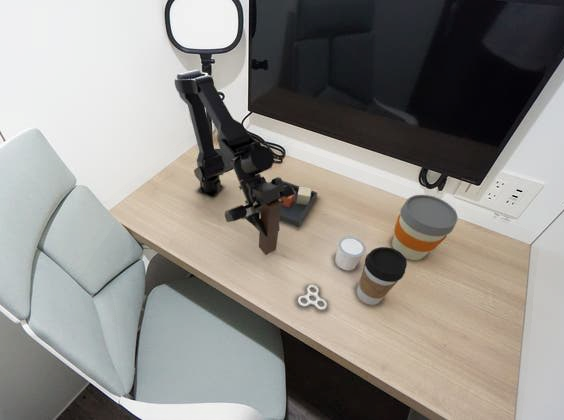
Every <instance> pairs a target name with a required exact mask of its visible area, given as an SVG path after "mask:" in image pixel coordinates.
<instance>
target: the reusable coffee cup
mask: <svg viewBox="0 0 564 420" xmlns="http://www.w3.org/2000/svg"><path fill="white" fill-rule="evenodd" d="M399 213H400V214H399V215H398V216H397V220H396V222H395V226H394V230H393V231H394V235H393V237H392V242H391V246H392V248H393V249H395V250H397V251H399V252H400V253H401V254H403V256H404V257H405V258H406V260H411V261H419V260H420V261H421V260H422V259H424V258H425V257H426V256H427V255H428V254H429V253H430V252H432V251H433V250H435V249H436V248H437V247H438V246H439V245H440V244H442V242H443V241H444V240H445V239H446V238H447V235H449V234H450V233H452V232H453V230H454V229H455V226H456V224H457V223H458V219H459V218H458V213H457V211H456V209H455V208H454V207H453V206H452V205H451V204H449V203H448V202H446V201H445V200H443V199H441V198H439V197H436V196H433V195H430V194H429V195H428V194H414V195H412V196H409V198H407V199H406V201H405V202H404V204H403V205H402V206H401V208H400V212H399Z"/></svg>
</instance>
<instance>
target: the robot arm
mask: <svg viewBox="0 0 564 420" xmlns="http://www.w3.org/2000/svg"><path fill="white" fill-rule="evenodd" d="M174 87H175V90H176V91H177V93H178V95H179V97H180V99H181V100H182V101H183V102H184V103H185V104H186V105H187V108H188V112H189V116H190V120H191V123H192V127H193V132H194V135H195V140H196V144H197V148H198V154H197V157H196V164H197V167H196V168H194V170H193V172H194V176H195V178H196V179H197V181H199V186H200V187H199V188H198V189H197V192H199V193H201V194H203V195H206V196H209V197H211V198H213V197H215V196H216V195H217V194H218V193H219V192H220V191H221V190H222V189H223V185H222V181H221V179H220V176H223V175H224V172H225V169H226V165H225V162H224V160H223V156H222V155H221V154H219V153H218V151H216V150H215V146H214V141H213V137H212V133H211V128H210V124H209V120H208V116H209V117H210V120H211V121H212V123H213V125H214V127H215V128H216V131H217V137H216V140H217V142H218V147H219V149H220V152H221V153H222V154H223V155H224V156H226V157H228V158H230V159H231V160H230V162H229V167H232V168H233V171H234V173H235V175H236V178H237V180H238V182H239V183H238V184H239V186H238V188H239V190H240V191H242V192H243V195H244V197H245V200H244V203H245V205H244V204H241V205H237V206H234V207H232V208H230V209H227V210H225V211H224V214H223V215H224V219H225V222H226V223H230V222H235V221H238V220H240V219H241V220H246V221H247V222H249V223H250V224H251V225H252V226H253V227H254V228H255V229H256V230H257V231H258V233H259V232H260V233H261V234H262V235H263V236H264V237H267V234H266V230H265V228H264V226H263V224H262V222H261V220H260V216H261V214H260V212H259V211H257V210H255V209H256V208H258V207H260V206H261V203H262V204H269V203H270V202H271V201H274V200H276V199H277V200H279V201H280V202H281V203H284V201H281V200H280V198H282V197H285V198H287V197H289V196H291V195H293V194H295V192H294V189H293V187H292V186H290V185H286V186H284V184H283V182H282V181H283V179H282V178H281V177H279V176H277V177H274V178H272V179H271V181H270V182H268V181H266V178H265V176H262V175H261V173H263V172H266V171H268V170H270V169H271V168H272V167H273V165H274V162H275V155H274V153H273V151H272V150H271V149H270V148H269V147H267V146H264V145H262V144H261V141H260V140H257V139H256V138H254V137H253V136H252V134H250V132H248V131H247V129H246V128H245V127H244V125H243V124H242V123H241V122H239V121H237V120H236V119H234V118H233V116H232V114H231V113H230V111H229V109H228V107H227V106H226V104H225V102H224V100H223V98H222V97H221V95H220V93H219V91H218V90H217V88H216V87H215V81H214V79H213V77H212V75H209V73H208V72H201V71H200V69H193V70H188V71H185V72H182V73H177V74H176V78H175V79H174ZM207 114H208V115H207ZM256 202H257V203H256ZM255 203H256V204H255ZM279 231H280V229H279V230H278V232H279Z"/></svg>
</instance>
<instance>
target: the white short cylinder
mask: <svg viewBox="0 0 564 420" xmlns="http://www.w3.org/2000/svg"><path fill="white" fill-rule="evenodd" d="M365 252H366V245H365V244H364V243H363V242H362V241H361V240H360V239H359V238H357V237H354V236H344V237H342V238H340V239H339V241H338V243H337V248H336V253H335V257H334V258H335V259H334V260H335V262H334V263H335V264H336V266H337V267H338V268H339V269H341V270H344V271H352V270H354V269H355V268H356V267H357V265H358V264H359V262H360V261H361V259H362V257H363V256H364V254H365Z"/></svg>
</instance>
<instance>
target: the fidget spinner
mask: <svg viewBox="0 0 564 420" xmlns="http://www.w3.org/2000/svg"><path fill="white" fill-rule="evenodd" d="M312 288H313V289H314V290H315V292H314V291H313V292H312V291H311V289H312ZM306 291H307V294H305V295H300V296H299V297H298V299H297V302H298V304H299V305H300V306H301V307H308V306H310V305H313V306H315V308H317V309H318V310H320V311H324V310H325V309H327V307H328V303H327V301H326V300H325V299H324V298H321V297H320V295H319V291H320V290H319V288H318V286H317V285H315V284H310V285H308V286H307V288H306ZM310 297H314V298H315V300H312V299H311V298H310ZM302 299H304V300H306V303H303V302H302ZM318 302H321V303H323V306H320V305H319V304H318Z"/></svg>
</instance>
